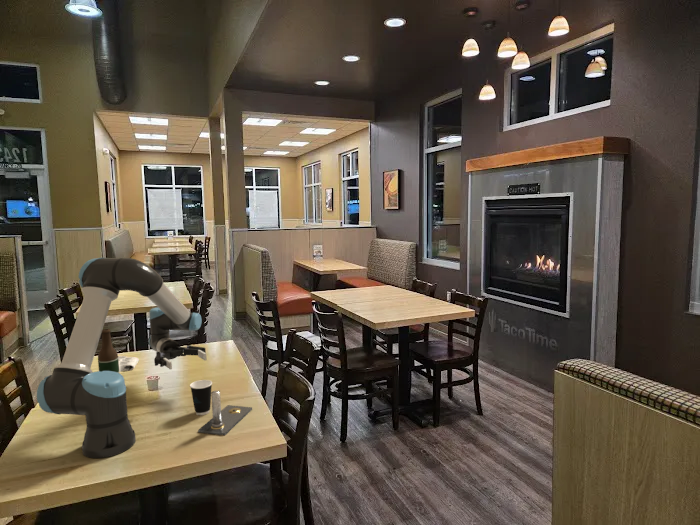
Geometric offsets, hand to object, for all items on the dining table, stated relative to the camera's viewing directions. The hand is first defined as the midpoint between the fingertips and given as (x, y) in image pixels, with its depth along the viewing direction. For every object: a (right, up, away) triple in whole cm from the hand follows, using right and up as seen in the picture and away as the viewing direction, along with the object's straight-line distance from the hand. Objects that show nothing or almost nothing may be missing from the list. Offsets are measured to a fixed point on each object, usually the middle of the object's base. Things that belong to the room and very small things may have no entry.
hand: (188, 361), depth 176 cm
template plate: (+18, -18, -13) cm, 29 cm away
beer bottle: (-43, -15, +24) cm, 51 cm away
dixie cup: (+7, -18, -6) cm, 20 cm away
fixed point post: (+17, -19, -19) cm, 32 cm away
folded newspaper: (-48, -13, +44) cm, 67 cm away
